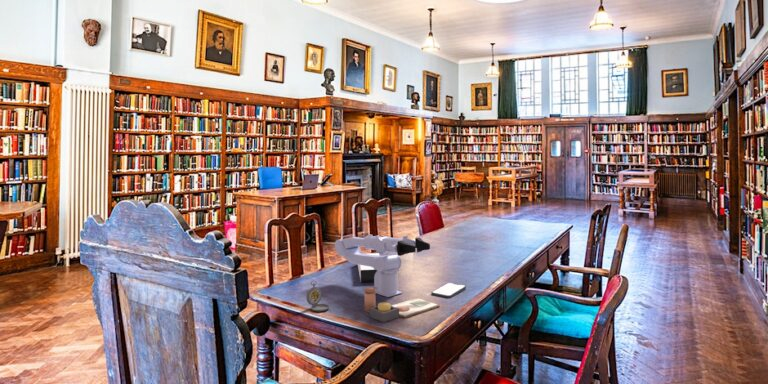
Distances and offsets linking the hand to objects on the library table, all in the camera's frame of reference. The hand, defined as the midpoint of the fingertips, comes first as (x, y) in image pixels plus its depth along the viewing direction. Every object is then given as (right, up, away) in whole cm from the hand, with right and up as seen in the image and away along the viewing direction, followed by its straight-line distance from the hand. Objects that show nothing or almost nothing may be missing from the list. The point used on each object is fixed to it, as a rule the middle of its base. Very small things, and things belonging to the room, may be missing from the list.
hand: (422, 247), depth 166 cm
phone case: (+13, -21, +18) cm, 30 cm away
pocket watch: (-38, -22, -1) cm, 44 cm away
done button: (-14, -21, -11) cm, 27 cm away
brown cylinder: (-19, -22, -3) cm, 29 cm away
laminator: (-21, -19, +49) cm, 57 cm away
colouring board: (-4, -22, -2) cm, 22 cm away
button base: (-14, -23, -11) cm, 29 cm away
